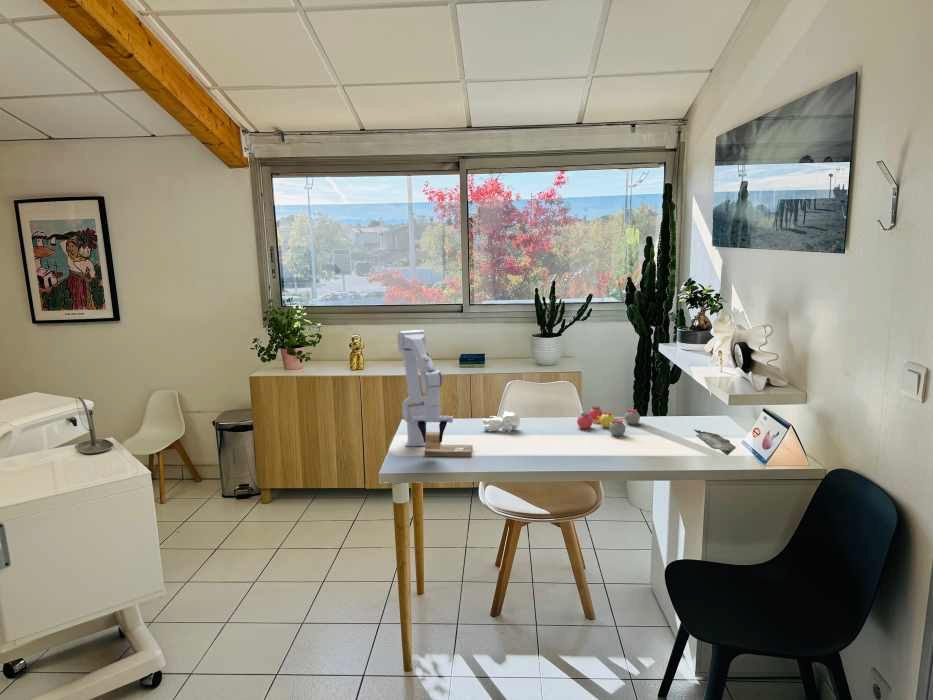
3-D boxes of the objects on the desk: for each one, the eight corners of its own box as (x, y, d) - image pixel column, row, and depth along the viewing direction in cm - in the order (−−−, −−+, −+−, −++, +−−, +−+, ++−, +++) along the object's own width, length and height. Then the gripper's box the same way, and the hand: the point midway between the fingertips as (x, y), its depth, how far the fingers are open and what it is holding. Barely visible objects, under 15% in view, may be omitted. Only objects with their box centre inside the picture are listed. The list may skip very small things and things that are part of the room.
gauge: (428, 442, 239) (427, 429, 239) (441, 442, 239) (441, 429, 238) (425, 448, 232) (425, 435, 231) (439, 448, 232) (439, 435, 231)
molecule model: (622, 439, 255) (622, 423, 254) (571, 431, 266) (571, 416, 265) (641, 423, 275) (642, 409, 274) (594, 417, 287) (594, 403, 286)
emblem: (687, 430, 265) (687, 428, 265) (711, 429, 265) (711, 428, 265) (721, 456, 233) (721, 454, 233) (748, 455, 234) (748, 453, 233)
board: (427, 449, 245) (427, 444, 245) (472, 449, 244) (472, 444, 244) (424, 456, 237) (424, 451, 237) (471, 456, 236) (471, 451, 236)
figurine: (481, 410, 268) (516, 403, 267) (483, 419, 274) (518, 412, 273) (484, 433, 262) (521, 426, 261) (487, 441, 268) (523, 434, 267)
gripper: (410, 407, 228) (411, 444, 230) (451, 407, 227) (452, 445, 229) (413, 402, 235) (414, 438, 237) (453, 402, 234) (453, 439, 236)
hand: (433, 441), depth 234 cm, fingers closed on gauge, 5 cm apart
